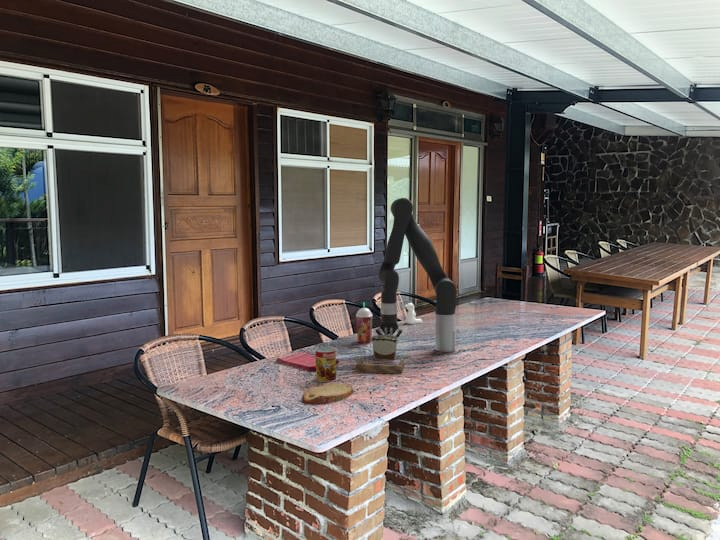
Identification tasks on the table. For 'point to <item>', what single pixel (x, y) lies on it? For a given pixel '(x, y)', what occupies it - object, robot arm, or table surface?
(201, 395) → the table surface
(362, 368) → the walnut dock
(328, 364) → the canned food
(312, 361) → the dish towel
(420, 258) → the robot arm
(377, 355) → the food container
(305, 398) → the bread slice
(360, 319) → the smoothie
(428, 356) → the table surface
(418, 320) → the white creature statuette
